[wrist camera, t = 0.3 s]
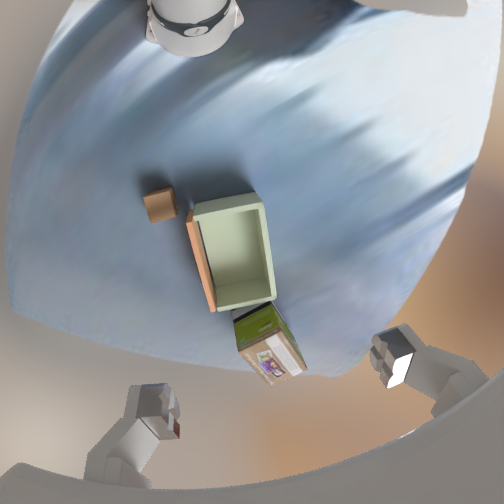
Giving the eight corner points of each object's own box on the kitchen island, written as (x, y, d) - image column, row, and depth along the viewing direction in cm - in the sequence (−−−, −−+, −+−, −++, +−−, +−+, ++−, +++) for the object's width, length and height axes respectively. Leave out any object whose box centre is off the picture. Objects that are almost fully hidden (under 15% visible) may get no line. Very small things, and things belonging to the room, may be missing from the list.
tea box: (292, 330, 70) (309, 370, 57) (259, 347, 71) (269, 389, 57) (267, 290, 64) (282, 331, 50) (230, 310, 64) (236, 354, 51)
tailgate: (187, 211, 51) (184, 223, 45) (194, 209, 51) (191, 221, 45) (208, 292, 59) (209, 312, 53) (214, 291, 59) (216, 311, 53)
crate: (195, 203, 53) (192, 216, 45) (255, 191, 53) (263, 201, 46) (216, 289, 61) (218, 311, 54) (268, 278, 62) (277, 299, 54)
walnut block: (148, 191, 50) (143, 197, 46) (172, 185, 51) (169, 190, 46) (155, 215, 52) (150, 223, 48) (178, 209, 53) (175, 217, 48)
